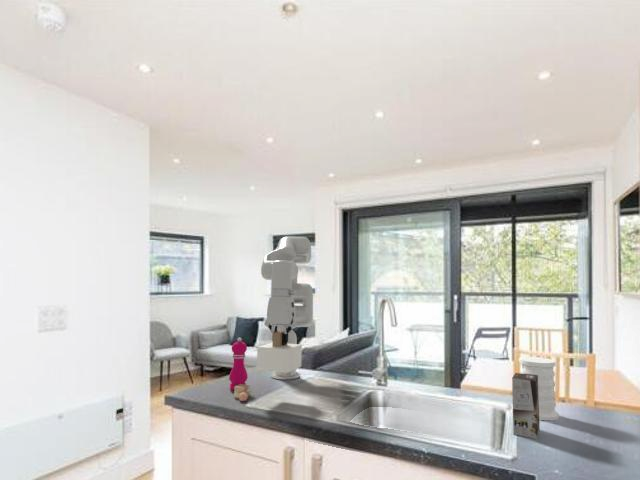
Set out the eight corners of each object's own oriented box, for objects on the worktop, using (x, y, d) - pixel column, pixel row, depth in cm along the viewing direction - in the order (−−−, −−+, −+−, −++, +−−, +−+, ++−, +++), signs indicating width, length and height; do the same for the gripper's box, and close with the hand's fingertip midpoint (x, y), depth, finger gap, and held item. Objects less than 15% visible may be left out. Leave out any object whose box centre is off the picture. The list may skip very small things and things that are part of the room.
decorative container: (512, 409, 143) (511, 356, 145) (544, 409, 144) (542, 356, 146) (532, 421, 132) (530, 363, 133) (567, 420, 133) (564, 363, 134)
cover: (272, 363, 159) (273, 329, 161) (301, 366, 155) (301, 331, 156) (256, 369, 148) (257, 332, 150) (286, 372, 144) (287, 334, 145)
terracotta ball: (241, 399, 151) (242, 391, 151) (249, 400, 150) (249, 391, 150) (237, 401, 148) (237, 393, 148) (244, 402, 147) (244, 394, 147)
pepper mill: (245, 391, 162) (246, 339, 164) (226, 390, 162) (228, 338, 164) (248, 386, 169) (250, 336, 171) (231, 386, 169) (232, 336, 171)
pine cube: (240, 395, 157) (240, 384, 157) (249, 396, 156) (249, 385, 156) (234, 397, 153) (234, 386, 154) (243, 399, 152) (243, 387, 152)
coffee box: (537, 439, 117) (535, 380, 118) (512, 434, 120) (511, 377, 122) (540, 429, 124) (538, 374, 126) (516, 425, 128) (515, 371, 129)
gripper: (305, 294, 155) (304, 344, 153) (266, 293, 161) (265, 341, 159) (296, 294, 148) (295, 347, 146) (256, 293, 154) (255, 344, 152)
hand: (280, 343), depth 153 cm, fingers closed on cover, 3 cm apart
